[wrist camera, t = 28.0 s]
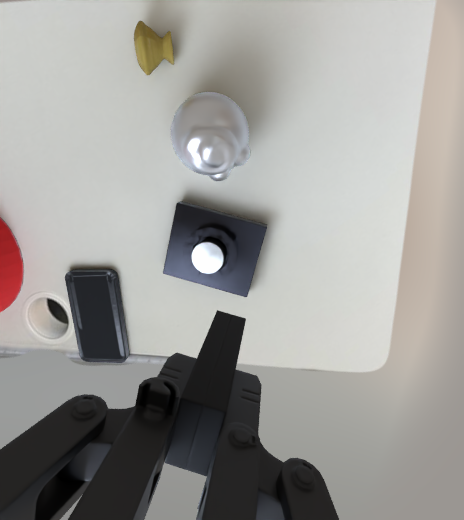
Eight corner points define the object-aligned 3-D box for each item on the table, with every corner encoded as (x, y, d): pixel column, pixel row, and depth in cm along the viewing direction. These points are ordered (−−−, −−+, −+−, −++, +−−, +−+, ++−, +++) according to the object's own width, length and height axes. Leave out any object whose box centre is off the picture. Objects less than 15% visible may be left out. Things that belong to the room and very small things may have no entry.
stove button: (229, 243, 41) (226, 247, 39) (221, 272, 42) (219, 277, 40) (199, 234, 41) (195, 238, 39) (192, 264, 42) (188, 268, 40)
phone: (113, 271, 47) (126, 363, 51) (117, 269, 48) (130, 359, 52) (63, 271, 48) (80, 361, 52) (67, 269, 49) (84, 357, 53)
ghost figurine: (184, 179, 43) (158, 182, 33) (182, 101, 40) (153, 80, 31) (252, 180, 42) (245, 184, 32) (254, 100, 39) (247, 78, 30)
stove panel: (267, 224, 43) (266, 229, 39) (248, 291, 46) (245, 302, 42) (181, 200, 44) (172, 203, 40) (167, 268, 47) (158, 277, 43)
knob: (146, 81, 40) (128, 69, 36) (139, 33, 39) (120, 14, 34) (182, 76, 40) (169, 63, 35) (177, 27, 38) (163, 7, 34)
